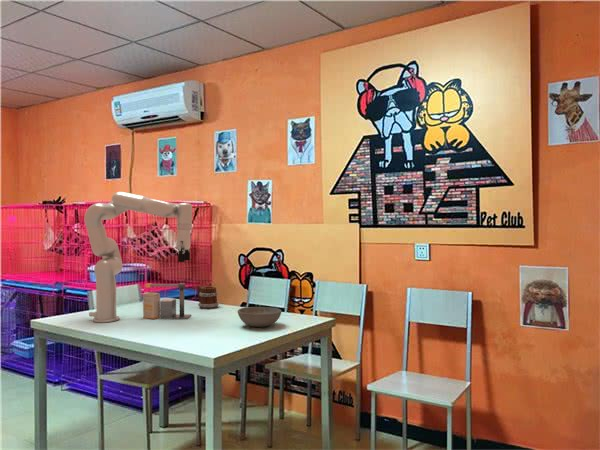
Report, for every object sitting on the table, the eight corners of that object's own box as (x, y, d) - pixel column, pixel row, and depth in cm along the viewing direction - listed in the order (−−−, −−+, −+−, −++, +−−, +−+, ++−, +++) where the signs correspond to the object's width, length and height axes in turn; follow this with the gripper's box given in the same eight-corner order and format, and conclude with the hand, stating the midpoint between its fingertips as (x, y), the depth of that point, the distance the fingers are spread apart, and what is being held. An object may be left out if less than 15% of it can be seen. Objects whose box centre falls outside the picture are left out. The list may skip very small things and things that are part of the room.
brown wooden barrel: (208, 309, 274) (205, 283, 276) (192, 311, 283) (189, 286, 284) (223, 306, 284) (220, 281, 285) (207, 308, 292) (204, 283, 293)
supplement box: (160, 317, 253) (160, 292, 253) (153, 319, 249) (153, 294, 249) (150, 316, 258) (149, 291, 258) (142, 317, 254) (142, 292, 254)
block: (160, 318, 250) (160, 301, 250) (165, 315, 258) (164, 298, 258) (171, 318, 250) (171, 301, 250) (176, 315, 258) (176, 298, 258)
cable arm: (145, 287, 252) (145, 283, 252) (147, 286, 255) (147, 283, 255) (184, 287, 251) (184, 283, 251) (186, 286, 255) (186, 283, 255)
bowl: (232, 323, 238) (232, 307, 238) (272, 320, 247) (272, 304, 247) (245, 332, 219) (245, 315, 219) (287, 328, 227) (287, 311, 227)
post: (172, 319, 249) (171, 289, 249) (176, 316, 257) (176, 287, 257) (187, 319, 249) (187, 289, 249) (191, 316, 257) (191, 287, 257)
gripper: (181, 227, 254) (181, 259, 255) (172, 227, 237) (171, 262, 237) (195, 227, 254) (195, 259, 254) (187, 227, 237) (186, 262, 237)
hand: (183, 261), depth 246 cm, fingers open, 9 cm apart
